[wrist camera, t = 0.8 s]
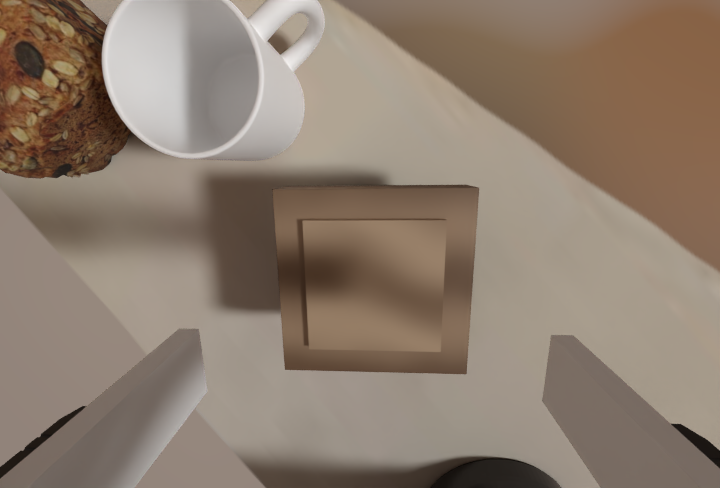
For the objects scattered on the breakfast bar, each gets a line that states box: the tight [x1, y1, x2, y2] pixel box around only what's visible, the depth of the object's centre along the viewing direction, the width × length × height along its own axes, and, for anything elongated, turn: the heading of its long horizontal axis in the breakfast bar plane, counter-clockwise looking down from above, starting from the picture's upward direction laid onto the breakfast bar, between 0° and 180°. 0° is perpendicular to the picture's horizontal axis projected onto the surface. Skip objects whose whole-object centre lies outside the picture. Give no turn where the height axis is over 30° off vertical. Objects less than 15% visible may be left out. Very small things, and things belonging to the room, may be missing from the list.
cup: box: [102, 0, 325, 161], centre depth 21 cm, size 8×12×10 cm
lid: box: [272, 185, 479, 374], centre depth 22 cm, size 12×12×3 cm
